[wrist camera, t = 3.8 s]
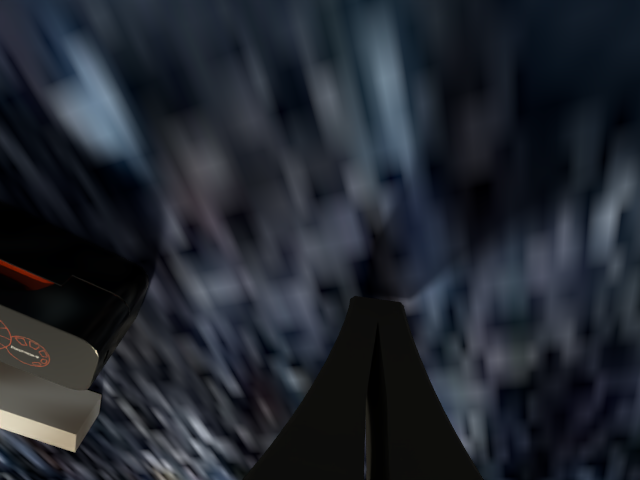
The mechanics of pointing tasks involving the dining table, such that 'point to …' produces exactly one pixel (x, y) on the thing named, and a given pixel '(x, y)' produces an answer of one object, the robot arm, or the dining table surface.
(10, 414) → the wooden bars
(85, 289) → the instrument cluster
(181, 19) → the dining table surface
